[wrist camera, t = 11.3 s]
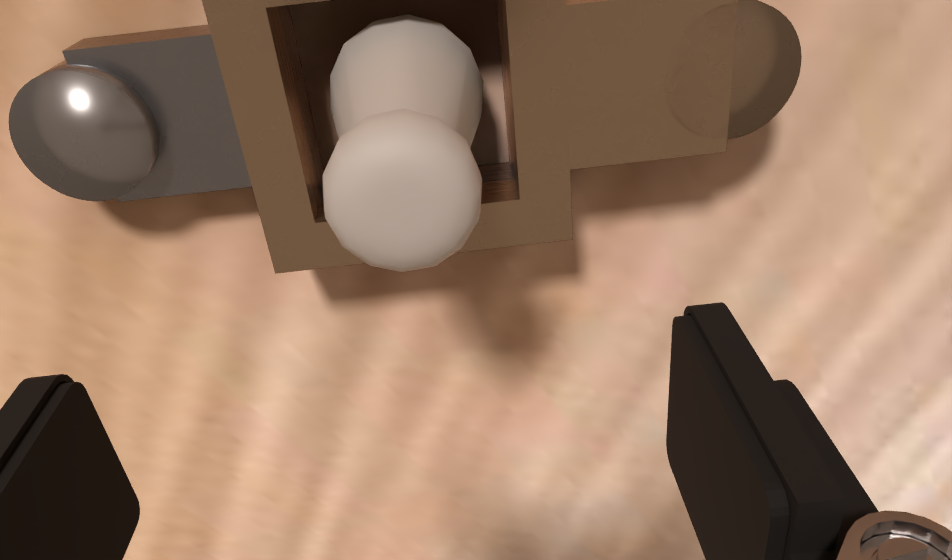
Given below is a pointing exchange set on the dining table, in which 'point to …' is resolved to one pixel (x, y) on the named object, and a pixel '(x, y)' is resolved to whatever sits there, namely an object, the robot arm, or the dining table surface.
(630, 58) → the upper end link
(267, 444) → the dining table surface
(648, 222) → the dining table surface
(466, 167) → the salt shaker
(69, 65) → the lower end link
